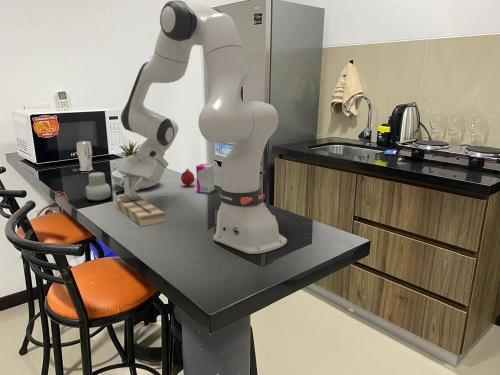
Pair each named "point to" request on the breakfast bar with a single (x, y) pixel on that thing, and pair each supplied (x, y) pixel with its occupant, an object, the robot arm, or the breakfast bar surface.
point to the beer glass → (85, 155)
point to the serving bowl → (118, 177)
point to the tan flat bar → (141, 211)
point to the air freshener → (97, 187)
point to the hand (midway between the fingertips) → (128, 187)
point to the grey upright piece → (129, 190)
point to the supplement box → (205, 178)
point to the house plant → (130, 150)
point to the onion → (187, 177)
